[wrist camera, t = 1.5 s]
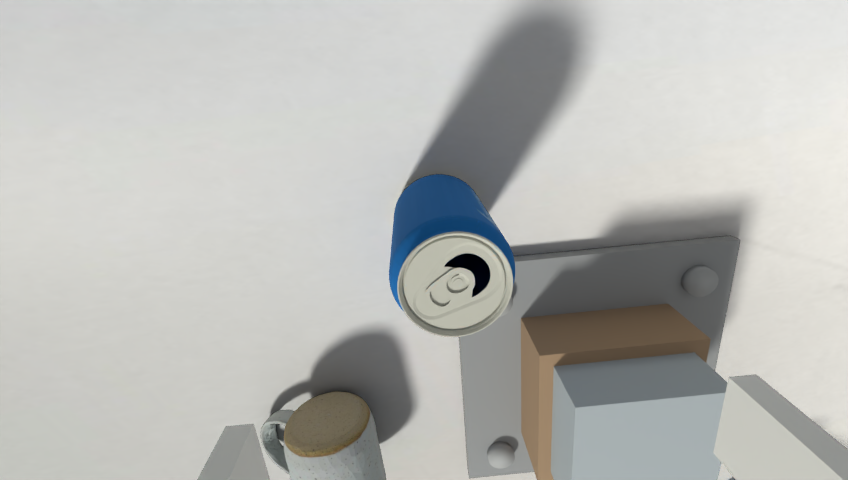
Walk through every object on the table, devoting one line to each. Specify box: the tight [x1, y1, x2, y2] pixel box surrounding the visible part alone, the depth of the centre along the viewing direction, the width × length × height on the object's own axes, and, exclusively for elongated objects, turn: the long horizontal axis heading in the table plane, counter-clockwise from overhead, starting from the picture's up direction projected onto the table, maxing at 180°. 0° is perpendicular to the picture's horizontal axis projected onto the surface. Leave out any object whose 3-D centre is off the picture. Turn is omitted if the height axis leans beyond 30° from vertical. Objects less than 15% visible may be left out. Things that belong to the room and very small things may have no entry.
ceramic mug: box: [260, 392, 386, 480], centre depth 34 cm, size 11×8×8 cm
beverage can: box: [389, 174, 515, 337], centre depth 26 cm, size 6×6×12 cm
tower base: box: [459, 236, 740, 480], centre depth 32 cm, size 22×22×10 cm
